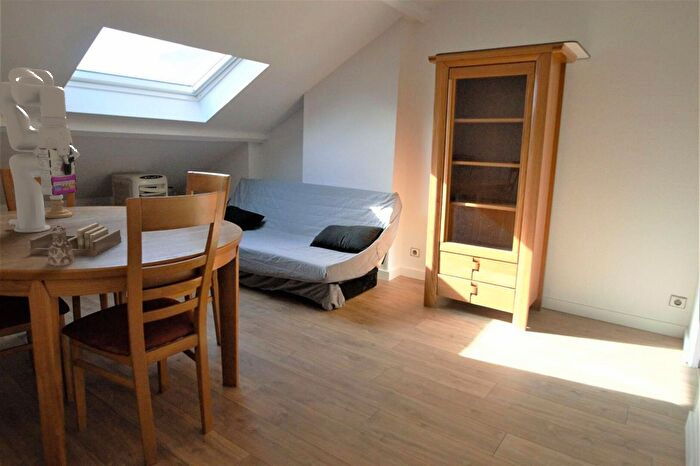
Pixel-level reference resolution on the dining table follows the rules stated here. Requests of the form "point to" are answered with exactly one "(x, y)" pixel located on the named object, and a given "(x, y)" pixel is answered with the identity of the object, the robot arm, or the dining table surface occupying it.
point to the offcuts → (90, 235)
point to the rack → (75, 244)
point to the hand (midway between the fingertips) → (58, 174)
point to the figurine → (60, 248)
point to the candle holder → (57, 208)
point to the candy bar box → (55, 173)
